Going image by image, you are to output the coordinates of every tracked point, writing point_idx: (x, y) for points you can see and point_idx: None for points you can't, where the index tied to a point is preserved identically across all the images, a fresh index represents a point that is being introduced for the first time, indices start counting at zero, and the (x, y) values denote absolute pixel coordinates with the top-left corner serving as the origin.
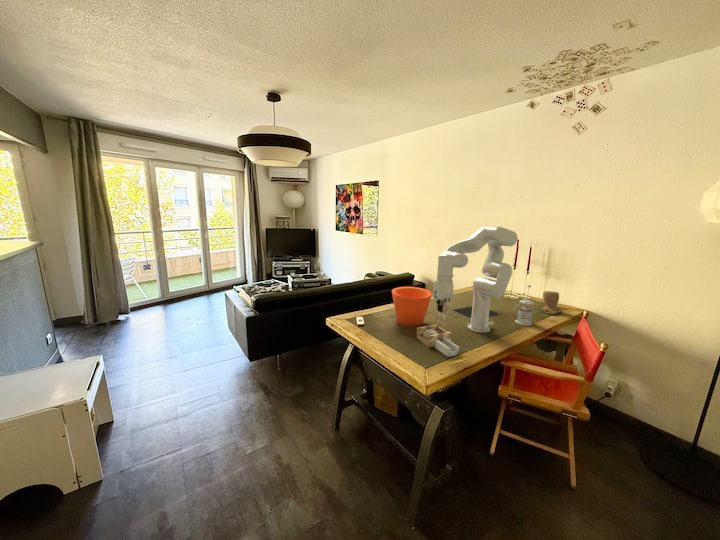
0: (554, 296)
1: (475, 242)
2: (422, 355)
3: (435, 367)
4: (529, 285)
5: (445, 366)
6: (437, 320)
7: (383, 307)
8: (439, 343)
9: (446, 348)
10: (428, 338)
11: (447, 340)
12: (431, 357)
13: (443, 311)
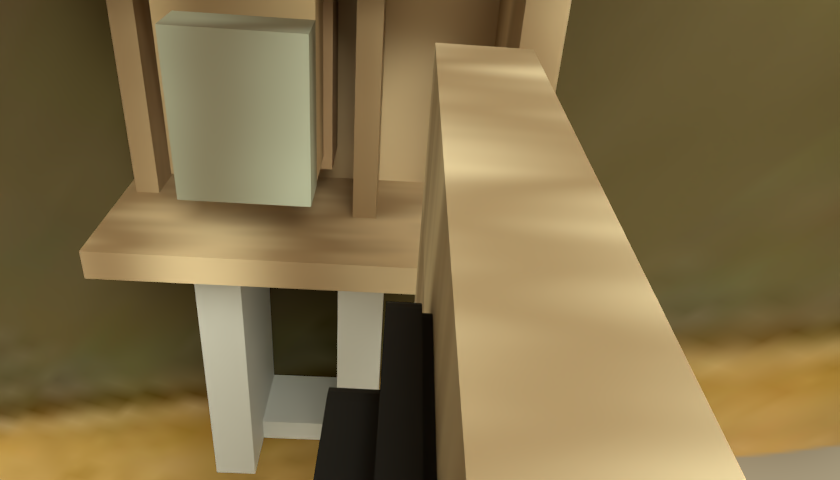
0: None
1: None
2: (6, 259)
3: (46, 438)
4: None
5: (145, 455)
6: (429, 125)
7: None
8: (204, 346)
9: (215, 444)
10: (99, 228)
11: (354, 339)
12: (91, 319)
13: None
